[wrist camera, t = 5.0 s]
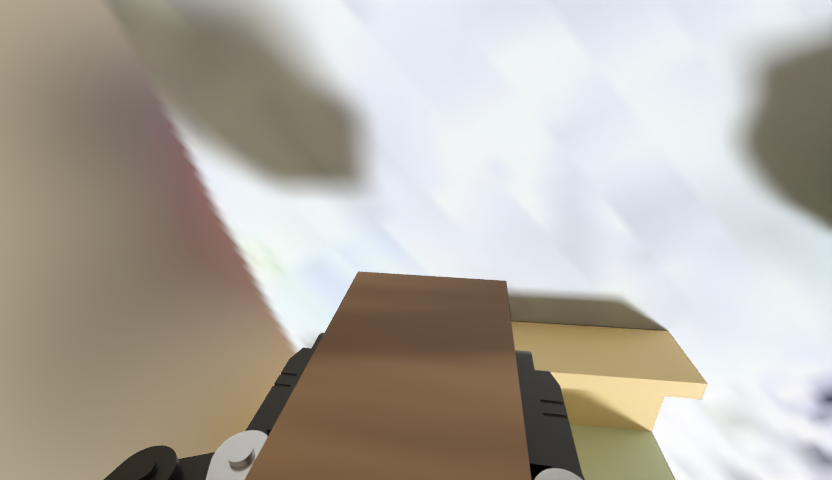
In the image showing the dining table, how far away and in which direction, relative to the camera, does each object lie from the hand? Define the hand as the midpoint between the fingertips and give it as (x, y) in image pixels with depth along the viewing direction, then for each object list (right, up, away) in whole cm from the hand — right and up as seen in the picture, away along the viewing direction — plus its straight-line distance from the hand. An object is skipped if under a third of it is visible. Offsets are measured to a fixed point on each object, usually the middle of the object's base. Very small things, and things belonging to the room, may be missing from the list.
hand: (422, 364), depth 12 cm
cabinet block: (0, +1, +2) cm, 2 cm away
